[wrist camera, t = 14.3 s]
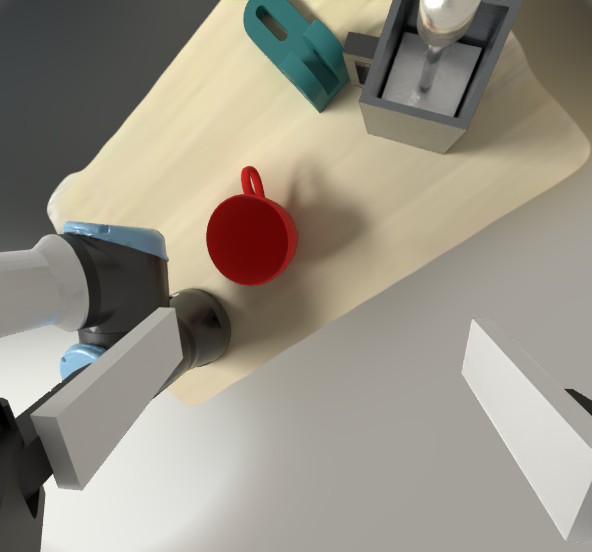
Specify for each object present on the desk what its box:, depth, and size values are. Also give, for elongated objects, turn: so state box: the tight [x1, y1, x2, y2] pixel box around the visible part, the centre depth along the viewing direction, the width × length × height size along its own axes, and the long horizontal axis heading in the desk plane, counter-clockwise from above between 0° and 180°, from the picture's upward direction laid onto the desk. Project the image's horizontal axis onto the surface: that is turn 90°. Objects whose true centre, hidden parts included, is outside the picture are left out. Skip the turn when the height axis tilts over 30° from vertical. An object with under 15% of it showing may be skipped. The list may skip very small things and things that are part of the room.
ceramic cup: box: [206, 166, 297, 286], centre depth 48 cm, size 13×17×10 cm
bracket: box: [244, 0, 350, 113], centre depth 42 cm, size 18×7×8 cm, turn 44°
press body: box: [342, 0, 523, 154], centre depth 36 cm, size 15×11×14 cm
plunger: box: [381, 0, 482, 117], centre depth 28 cm, size 9×9×17 cm
